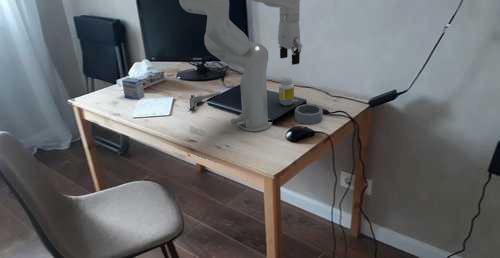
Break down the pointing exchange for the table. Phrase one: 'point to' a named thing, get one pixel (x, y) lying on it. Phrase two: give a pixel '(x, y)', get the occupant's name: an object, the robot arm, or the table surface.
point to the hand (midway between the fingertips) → (289, 60)
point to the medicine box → (133, 88)
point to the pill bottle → (286, 89)
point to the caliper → (200, 99)
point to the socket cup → (308, 114)
